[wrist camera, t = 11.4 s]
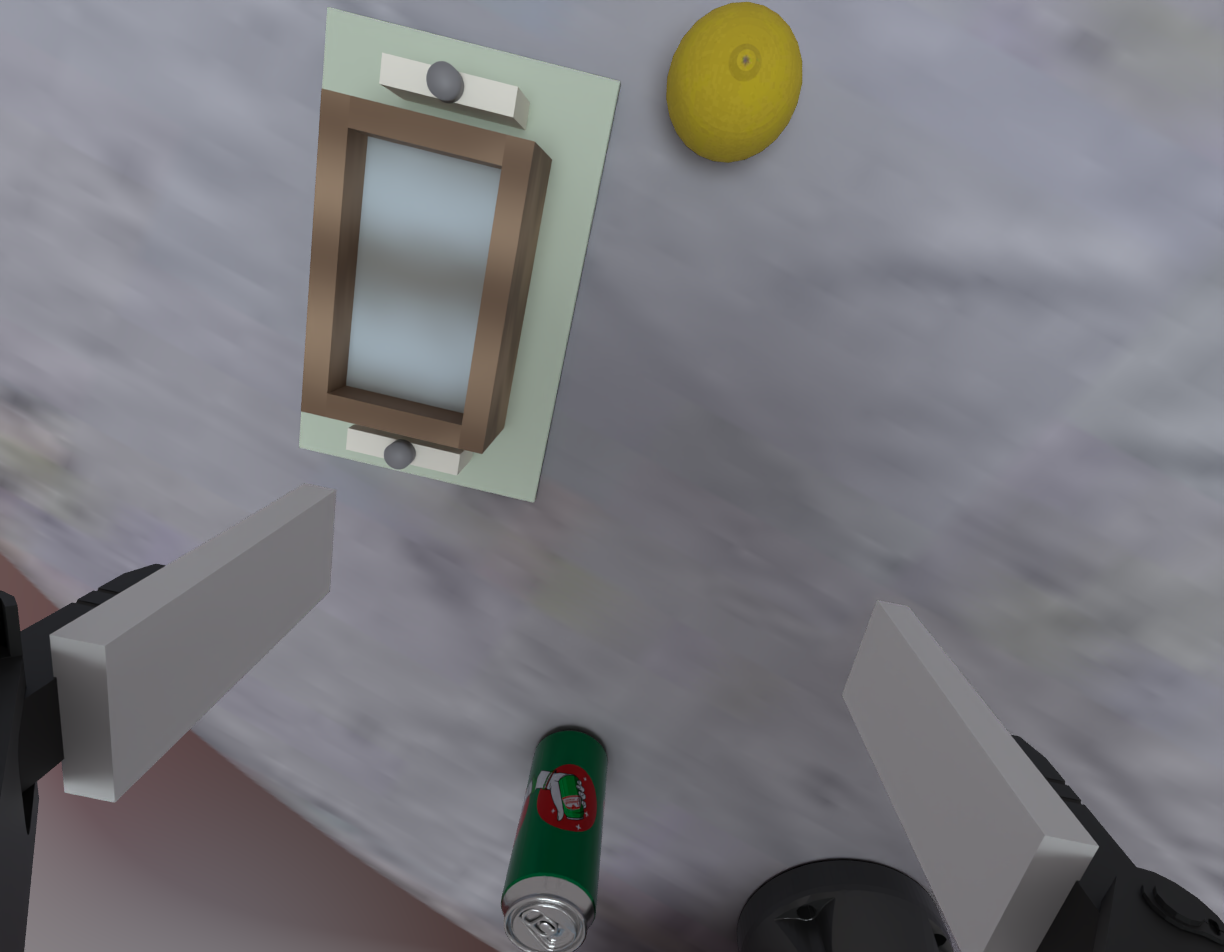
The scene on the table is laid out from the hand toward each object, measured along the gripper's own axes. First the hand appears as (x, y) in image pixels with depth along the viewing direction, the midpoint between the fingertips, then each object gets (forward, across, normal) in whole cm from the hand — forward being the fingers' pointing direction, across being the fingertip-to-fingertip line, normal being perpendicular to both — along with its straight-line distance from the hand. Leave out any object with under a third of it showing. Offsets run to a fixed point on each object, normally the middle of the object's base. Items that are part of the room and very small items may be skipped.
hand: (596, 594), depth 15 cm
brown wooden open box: (+20, +11, -5) cm, 24 cm away
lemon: (+21, -2, -16) cm, 26 cm away
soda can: (+22, -1, +24) cm, 33 cm away
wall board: (+21, +11, -5) cm, 24 cm away
